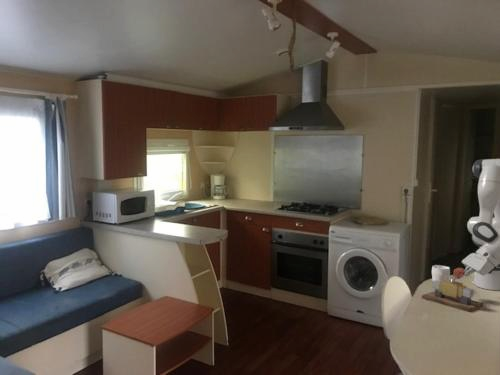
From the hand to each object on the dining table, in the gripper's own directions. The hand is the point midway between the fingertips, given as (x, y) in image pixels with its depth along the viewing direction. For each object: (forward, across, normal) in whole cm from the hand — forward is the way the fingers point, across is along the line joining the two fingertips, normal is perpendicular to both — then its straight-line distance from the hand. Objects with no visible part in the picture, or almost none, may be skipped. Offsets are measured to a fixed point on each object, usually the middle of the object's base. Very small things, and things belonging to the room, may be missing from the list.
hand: (464, 274), depth 202 cm
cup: (+13, -18, +6) cm, 23 cm away
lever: (+5, +1, -1) cm, 5 cm away
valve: (+13, +5, +2) cm, 15 cm away
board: (+14, +4, +4) cm, 15 cm away
